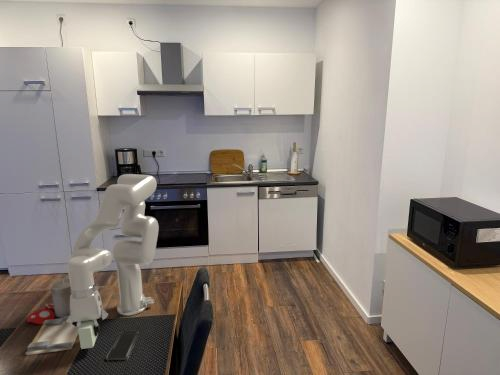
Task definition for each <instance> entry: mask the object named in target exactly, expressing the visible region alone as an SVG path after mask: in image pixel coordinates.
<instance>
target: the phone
mask: <svg viewBox="0 0 500 375" xmlns="http://www.w3.org/2000/svg"><path fill="white" fill-rule="evenodd" d="M139 336H140V332H139V331H124V332H123V331H122V332H119V333H118V334H117V336H116V338H115V340H114V342H113V344H112V345H111V347H110V349H109V351H108V353H107V355H106V356H105V360H126V361H127V360H128V359H129V358H130V356H129V355H131V354H132V352H131V351H133V350H134V347H135V345H136V343H137V341H138V339H139ZM137 338H138V339H137ZM135 342H136V343H135ZM132 349H133V350H132ZM130 353H131V354H130Z"/></svg>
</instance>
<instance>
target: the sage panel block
mask: <svg viewBox="0 0 500 375" xmlns="http://www.w3.org/2000/svg"><path fill="white" fill-rule="evenodd" d="M78 333H79V334H78V339H79V343H80V344H79V345H80V348H81V349H80V350H83V349H92V348H94V346H95V343H96V341H97V338H98V335H97V336H95V333H94V322H93V320H87V321H82V322H81V324H80V326H79V328H78Z"/></svg>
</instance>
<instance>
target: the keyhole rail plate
mask: <svg viewBox="0 0 500 375" xmlns="http://www.w3.org/2000/svg"><path fill="white" fill-rule="evenodd" d="M68 317H69V316H65V317H63V318H60V317H58V318H54V319H50V320H45V321H44V323H43V324H42V325H41V327H40V329H39V330H38V331H37V333H36V335H35V337H34V338H33V339H32V341H31V342H30V343H29V344H28V346H27V348H26V349H27V351H26V352H25V355H26V356H29V355H36V354H37V355H38V354H39V355H40V354H47V353H52V352H54V353H55V352H61V351H66V350H67V351H68V350H72V348H73V346H74V344H75V343H76V340H77V338H78V337H79V333H78V329H77V327H76V326H74V325H72V324H70V323H68V322H66V321H67V319H68Z"/></svg>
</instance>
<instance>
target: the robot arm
mask: <svg viewBox="0 0 500 375" xmlns="http://www.w3.org/2000/svg"><path fill="white" fill-rule="evenodd" d="M157 184H158V183H157V180H156V178H155V177H154V176H153V175H150V174H135V173H127V174H126V173H125V174H122V175H119V177H118V178H117V183H116V184H110V185H108V186H107V187H106V189H105V191H104V194H103V197H102V201H101V203H100V206H99V209H98V211H97V215H96V217H95V219H94V220H93V221H92V222H91V223H90V224H88V225H87V226H86V227H85V228H84V229H83V230H82V231H81V232H80V234H79V235H78V236H77V239H76V241H75V244H74V246H73V249H72V251H71V258H70V259H69V260H68V261H67V264H66V266H67V272H68V273H67V274H68V278H69V280H70V287H71V293H72V294H71V296H70V315H69V317H68V319H67V321H66V322H68V323H70V324H72V325H74V326H76V327H77V329H78V328H79V326H80V324H81V322H82V321H87V320H93V322H94V333H95V336H97V337H98V335H99V333H100V331H101V329H100V324H101V322H103V320H105V319H107V318H108V316H109V313H108V312H107V311H106V310H105V309H104V307H103V302H102V298H101V295H100V292H99V291H98V290H100V286H99V285H96V283H95V279H94V274H95V273H98V272H100V271H103V270H105V269H106V268H108V267H109V266H110V264H111V263H112V260H114V263H115V266H116V272H117V274H116V275H117V284H118V293H119V294H118V295H119V304H118V305H117V307H116V311H117V313H118V314H119V315H121V316H129V317H130V316H134V315H135V316H136V315H139V314H140V313H142V312H144V311H145V310H146V308H147V307H148V304H150V305H151V304H154V298H152V297H151V296H148V297H146V296H145V294H144V293H143V282H142V270H141V265H144V266H145V265H149V264H151V263H152V262H153V261H154V257H155V254H156V250H157V242H158V236H159V230H160V229H159V228H160V226H159V223H158V222H159V221H158V220H157V219H156V218H155V217H154V216H149V215H145V209H146V203H145V201H146V200H147V199H148V198H150V197H151V196H152V195H153V194H154V193H155V192H156V190H157V186H158V185H157ZM122 215H123V216H122ZM121 217H122V222H121V226H120V231H121V234H122V235H123V236H124V237H129V238H137V239H141V241H140V240H133V239H132V240H130V239H122V240H118V241H117V242H115V244H114V245H113V248H112V252H111V251H110V250H109V249H106V248H97V247H91V245H92V242H93V241H94V240H95V239H96V238H97V237H98V236H99V235H101V234H102V233H104V232H106V231H109V230H112V229H114V228H116V227H118V226H119V223H120V220H121Z"/></svg>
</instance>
